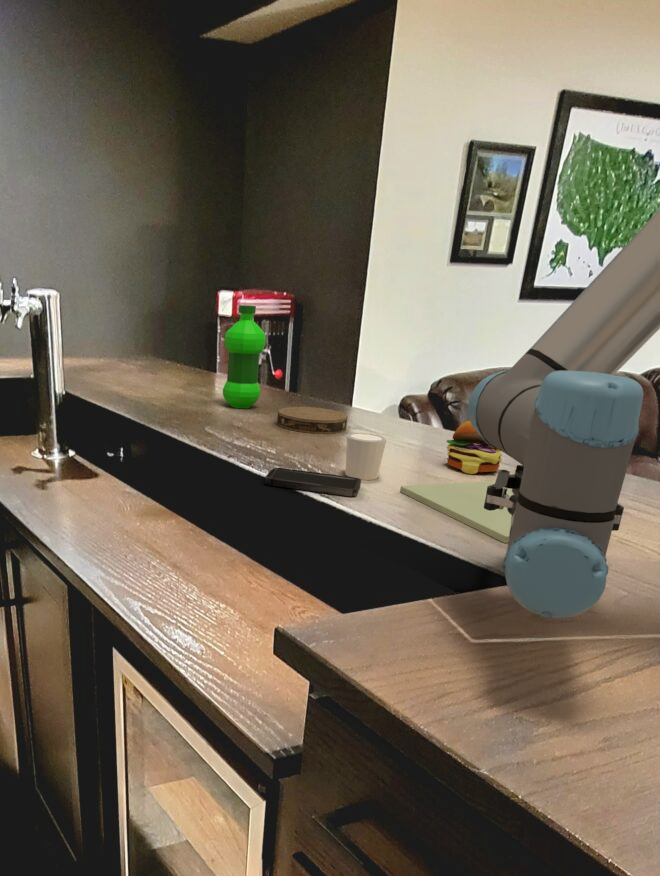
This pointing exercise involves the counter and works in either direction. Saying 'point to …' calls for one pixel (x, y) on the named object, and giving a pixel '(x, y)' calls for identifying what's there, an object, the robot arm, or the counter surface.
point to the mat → (465, 505)
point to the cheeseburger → (472, 451)
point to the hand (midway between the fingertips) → (549, 473)
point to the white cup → (364, 455)
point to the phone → (313, 481)
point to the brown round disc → (312, 420)
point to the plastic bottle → (243, 359)
